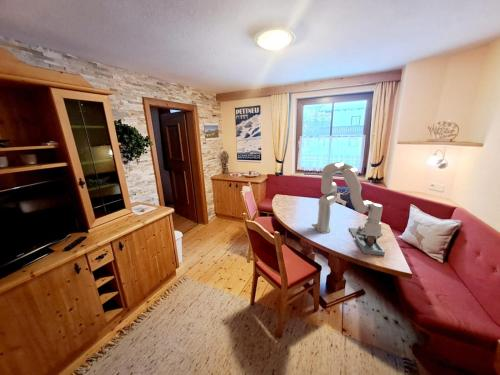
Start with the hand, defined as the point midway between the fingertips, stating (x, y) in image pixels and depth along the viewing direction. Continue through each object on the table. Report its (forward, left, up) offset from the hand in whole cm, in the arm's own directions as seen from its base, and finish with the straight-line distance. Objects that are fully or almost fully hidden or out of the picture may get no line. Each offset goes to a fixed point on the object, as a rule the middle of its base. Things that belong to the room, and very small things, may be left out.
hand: (369, 242), depth 142 cm
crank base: (0, +20, -4) cm, 20 cm away
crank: (+3, +16, 0) cm, 16 cm away
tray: (0, 0, -4) cm, 4 cm away
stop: (0, 0, -2) cm, 2 cm away
